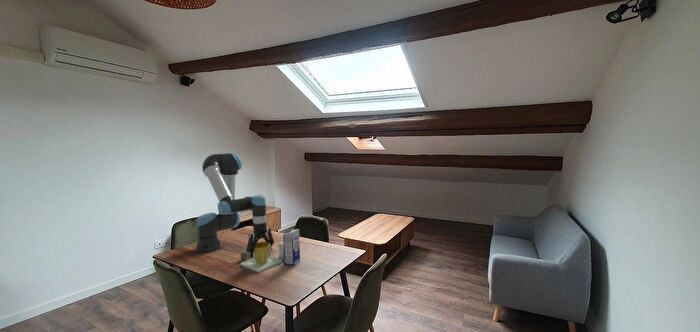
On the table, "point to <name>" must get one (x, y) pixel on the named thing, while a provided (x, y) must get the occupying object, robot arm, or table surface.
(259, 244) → the plant pot
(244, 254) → the walnut block
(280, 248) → the white rounded capsule
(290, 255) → the milk carton
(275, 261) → the tray
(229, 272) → the table surface
